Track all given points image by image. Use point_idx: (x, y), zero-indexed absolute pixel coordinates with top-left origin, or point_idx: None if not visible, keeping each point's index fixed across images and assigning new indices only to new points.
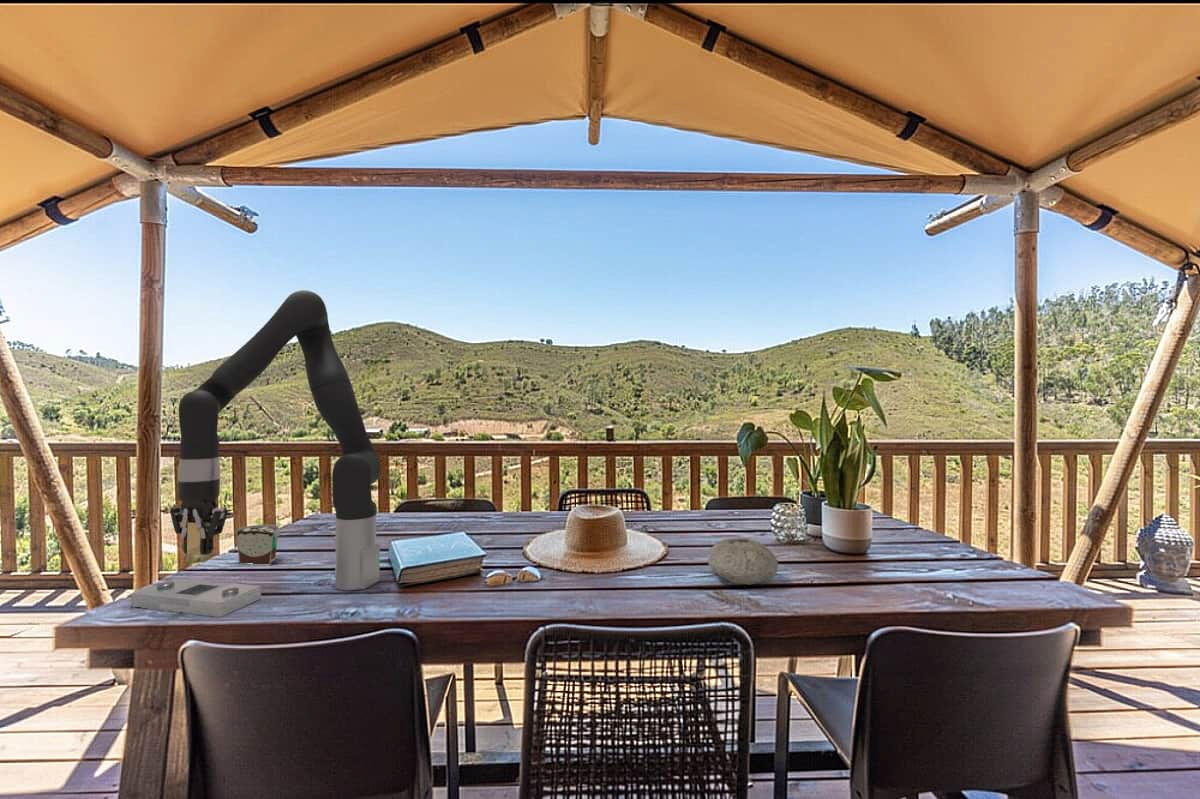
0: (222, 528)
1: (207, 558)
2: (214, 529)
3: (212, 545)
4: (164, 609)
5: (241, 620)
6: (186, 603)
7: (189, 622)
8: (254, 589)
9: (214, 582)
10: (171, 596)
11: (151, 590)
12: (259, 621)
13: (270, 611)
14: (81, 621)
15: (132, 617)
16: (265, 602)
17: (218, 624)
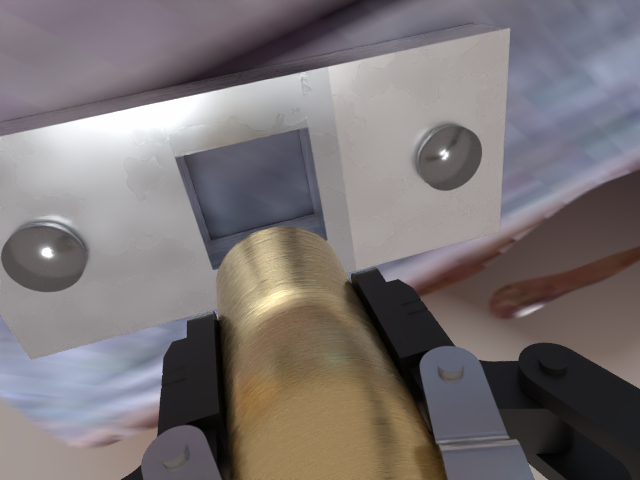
0: (617, 381)
1: (338, 259)
2: (612, 456)
3: (422, 308)
4: None
5: (557, 189)
6: None
7: (413, 271)
8: (505, 69)
9: (217, 103)
10: None
11: (61, 306)
12: (617, 167)
13: (601, 98)
14: (75, 425)
15: None
16: (520, 42)
17: (512, 237)
